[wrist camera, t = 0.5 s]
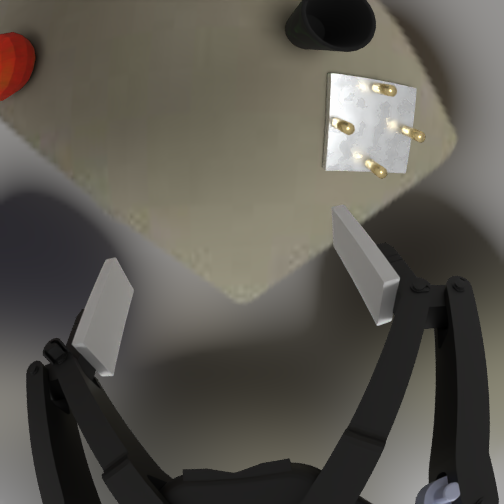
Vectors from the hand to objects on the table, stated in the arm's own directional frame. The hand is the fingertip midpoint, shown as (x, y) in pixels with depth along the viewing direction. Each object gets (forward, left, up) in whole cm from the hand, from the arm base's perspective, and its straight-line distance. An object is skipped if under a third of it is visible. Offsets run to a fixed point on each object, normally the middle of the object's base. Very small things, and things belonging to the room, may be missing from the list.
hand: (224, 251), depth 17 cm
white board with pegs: (-3, +22, -25) cm, 33 cm away
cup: (-16, +12, -26) cm, 32 cm away
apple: (-18, -29, -26) cm, 43 cm away
